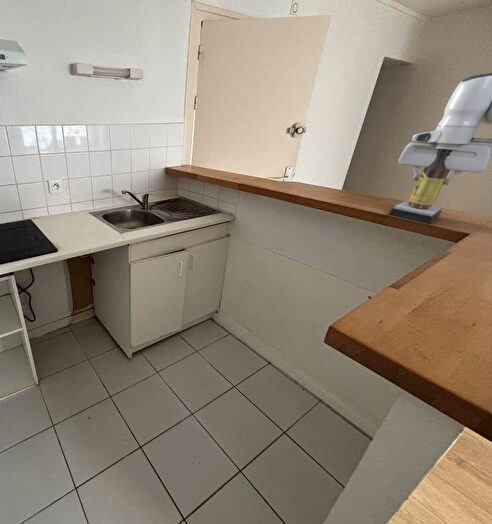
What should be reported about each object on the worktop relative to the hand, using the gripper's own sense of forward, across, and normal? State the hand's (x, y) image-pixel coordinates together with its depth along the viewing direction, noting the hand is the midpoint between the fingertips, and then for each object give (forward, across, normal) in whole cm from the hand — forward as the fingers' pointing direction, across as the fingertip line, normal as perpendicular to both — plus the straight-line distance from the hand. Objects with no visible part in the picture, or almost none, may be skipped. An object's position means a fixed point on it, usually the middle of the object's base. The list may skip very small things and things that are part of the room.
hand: (429, 182), depth 93 cm
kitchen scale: (+12, 0, 0) cm, 12 cm away
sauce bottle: (+9, 0, 0) cm, 9 cm away
